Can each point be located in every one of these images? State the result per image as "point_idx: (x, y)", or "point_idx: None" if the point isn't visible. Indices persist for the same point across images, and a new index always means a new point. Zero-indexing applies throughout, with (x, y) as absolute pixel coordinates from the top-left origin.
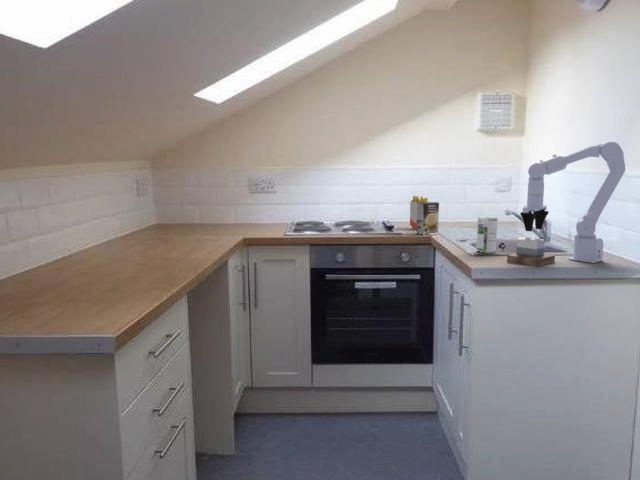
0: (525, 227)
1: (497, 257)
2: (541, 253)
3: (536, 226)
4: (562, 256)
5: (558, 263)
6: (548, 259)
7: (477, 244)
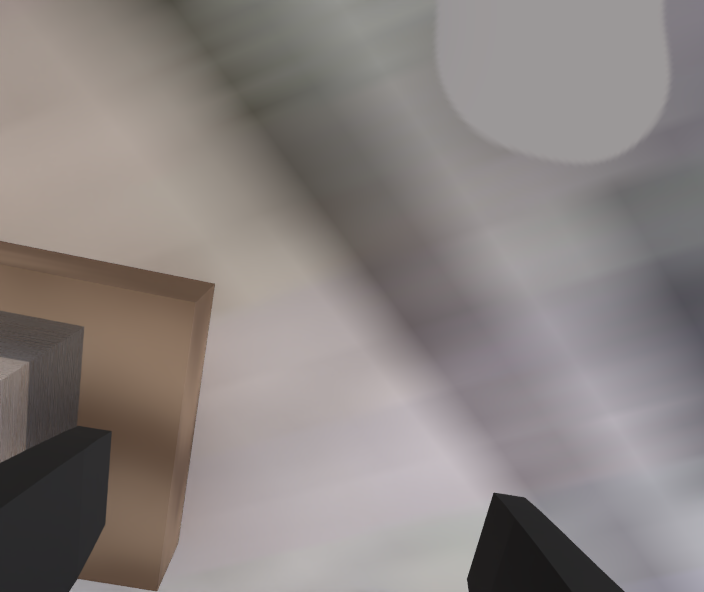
0: (15, 464)
1: (34, 34)
2: None
3: (505, 543)
4: None
5: None
6: None
7: None
